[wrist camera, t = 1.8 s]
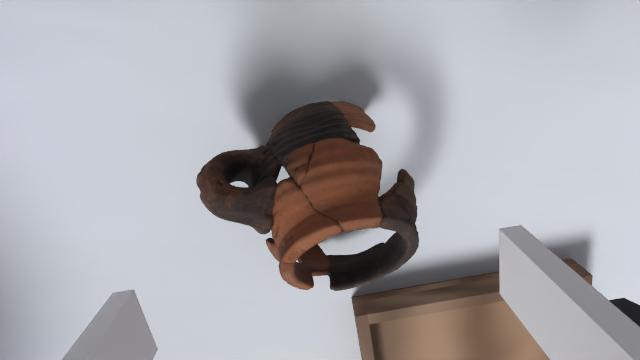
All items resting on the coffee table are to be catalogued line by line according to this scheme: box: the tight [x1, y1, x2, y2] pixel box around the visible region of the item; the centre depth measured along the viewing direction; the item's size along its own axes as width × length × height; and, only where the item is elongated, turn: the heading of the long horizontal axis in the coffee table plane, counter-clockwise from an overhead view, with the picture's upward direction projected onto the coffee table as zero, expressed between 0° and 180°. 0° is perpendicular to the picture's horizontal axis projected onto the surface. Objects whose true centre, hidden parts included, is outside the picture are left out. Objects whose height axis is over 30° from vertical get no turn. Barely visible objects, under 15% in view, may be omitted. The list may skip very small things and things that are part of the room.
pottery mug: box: [197, 101, 419, 291], centre depth 22 cm, size 12×10×8 cm
